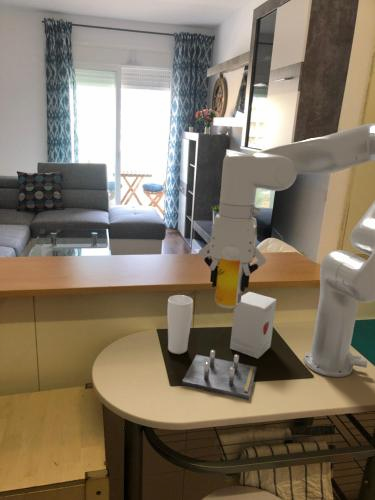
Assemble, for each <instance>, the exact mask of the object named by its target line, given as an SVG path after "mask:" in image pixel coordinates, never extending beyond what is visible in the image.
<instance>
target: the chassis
mask: <svg viewBox="0 0 375 500" xmlns="http://www.w3.org/2000/svg"><path fill="white" fill-rule="evenodd" d="M239 359H240V355H239V354H234V355H233V361H229V360H226V359H220V358H216V350H215V349H211V350H210V353H209V356H205V355H199V354H196V355H195V356H194V358H193V360H192V363H191V364H190V366H189V368H188V370H187V372H186V373H185V374H184V375H185V376H184V377H183V378H182V382H181V383H182V384H181V386H183V387H188V388H191V389H197V390H199V391H200V390H201V391H206V392H211V393H215V394H220V395H223V396H227V397H233V398H236V399H241V400H246V401H250V396H251V393H252V389H253V385H254V381H255V376H256V373H257V366H254V365H249V364H245V363H240V362H239Z"/></svg>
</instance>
